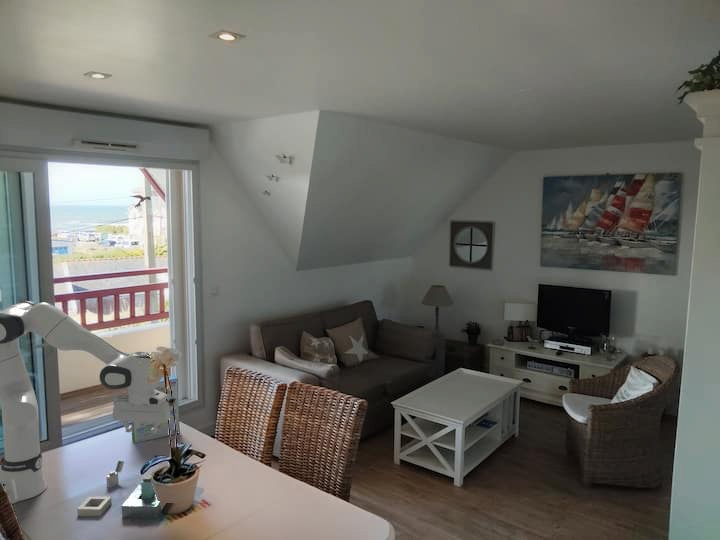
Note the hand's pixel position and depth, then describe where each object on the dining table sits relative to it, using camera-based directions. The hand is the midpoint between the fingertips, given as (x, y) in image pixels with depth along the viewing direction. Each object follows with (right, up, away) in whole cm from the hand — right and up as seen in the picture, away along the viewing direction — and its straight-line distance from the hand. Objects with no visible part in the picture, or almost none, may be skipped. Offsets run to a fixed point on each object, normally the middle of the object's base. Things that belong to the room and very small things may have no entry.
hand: (141, 432), depth 194 cm
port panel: (+5, -25, -6) cm, 26 cm away
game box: (-15, -18, +52) cm, 57 cm away
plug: (+5, -24, -6) cm, 25 cm away
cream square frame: (-13, -25, -8) cm, 29 cm away
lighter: (-14, -23, +10) cm, 29 cm away
